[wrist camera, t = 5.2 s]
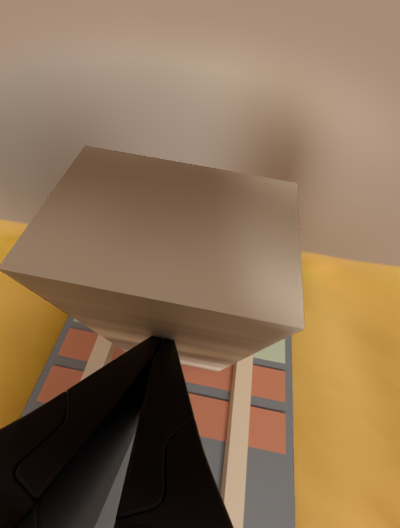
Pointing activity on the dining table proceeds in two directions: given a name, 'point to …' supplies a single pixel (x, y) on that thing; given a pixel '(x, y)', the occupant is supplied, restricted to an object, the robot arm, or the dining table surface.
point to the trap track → (208, 423)
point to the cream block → (168, 255)
